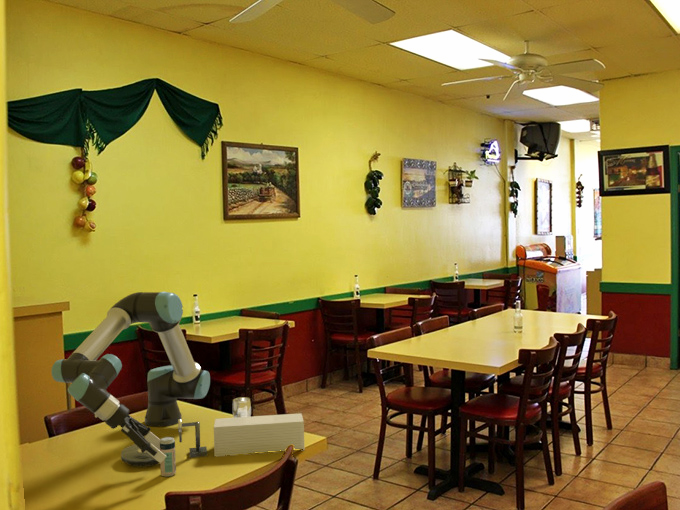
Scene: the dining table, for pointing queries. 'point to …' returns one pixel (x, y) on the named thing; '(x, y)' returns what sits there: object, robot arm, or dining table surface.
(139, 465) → the turntable base
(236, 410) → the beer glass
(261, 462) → the dining table surface
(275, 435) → the white rectangular block
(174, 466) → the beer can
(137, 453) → the turntable
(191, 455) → the dial indicator
